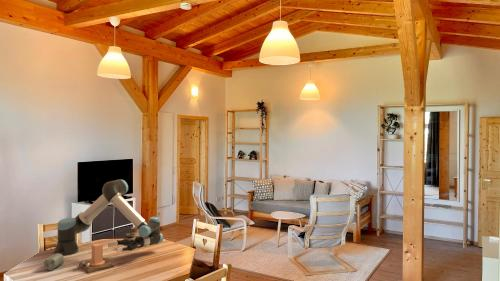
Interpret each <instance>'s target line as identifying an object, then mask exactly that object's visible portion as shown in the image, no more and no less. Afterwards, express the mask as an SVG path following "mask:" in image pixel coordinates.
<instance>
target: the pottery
mask: <svg viewBox="0 0 500 281" xmlns="http://www.w3.org/2000/svg"><path fill="white" fill-rule="evenodd" d="M136 237H140V235H139V233H138V229H137V228H136V227H135V226H132V227H131V230H130V233H129V232H128V233H126V234H125V238H123V239H122V240H129V239H132V240H135V238H136ZM128 244H129V243H128ZM124 246H127V245H123V247H124Z"/></svg>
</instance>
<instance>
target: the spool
mask: <svg viewBox="0 0 500 281" xmlns="http://www.w3.org/2000/svg"><path fill="white" fill-rule="evenodd" d="M64 262H65V257H64V255H62V254H60V253H57V254H55V253H54V254H51V255H50V256H48V257H47V258H46V259H45V260H44V262H43V266H44V268H45V269H46V270H48V271H53V270H55V269H56V268H57V267H59V266H61V265H63V264H64Z"/></svg>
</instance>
